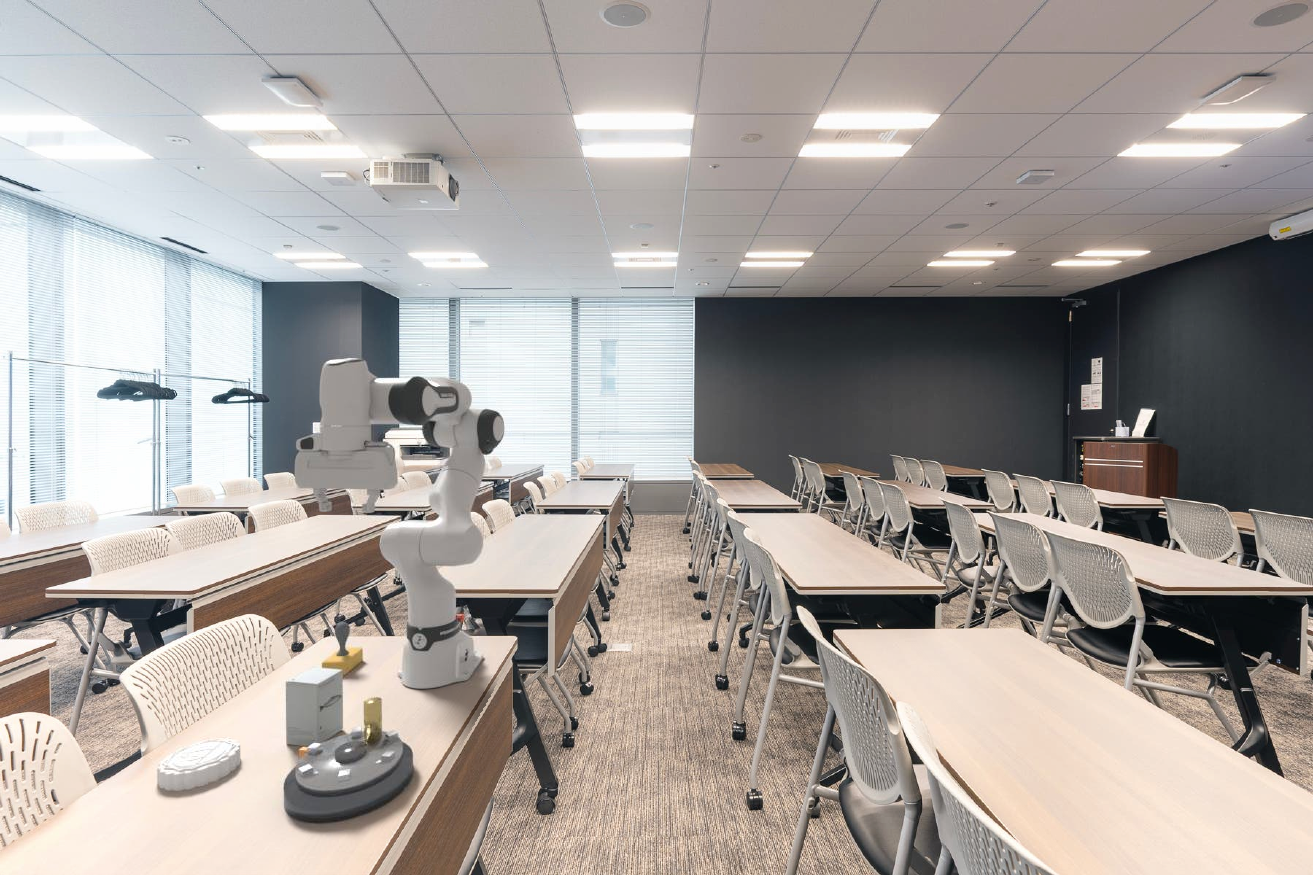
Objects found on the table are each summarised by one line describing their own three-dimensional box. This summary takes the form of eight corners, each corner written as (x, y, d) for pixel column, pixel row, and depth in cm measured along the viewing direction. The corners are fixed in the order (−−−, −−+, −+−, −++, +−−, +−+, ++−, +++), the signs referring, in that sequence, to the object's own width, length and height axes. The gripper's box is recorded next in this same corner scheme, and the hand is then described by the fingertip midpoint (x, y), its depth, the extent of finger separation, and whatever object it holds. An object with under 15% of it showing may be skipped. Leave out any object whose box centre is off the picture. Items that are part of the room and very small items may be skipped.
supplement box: (317, 748, 115) (316, 684, 115) (285, 744, 117) (283, 680, 117) (344, 729, 123) (343, 668, 122) (313, 725, 124) (312, 665, 124)
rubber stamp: (341, 660, 158) (340, 616, 158) (363, 660, 158) (362, 616, 158) (321, 676, 148) (320, 629, 148) (344, 676, 149) (343, 628, 148)
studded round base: (341, 737, 113) (341, 691, 113) (421, 745, 110) (420, 698, 110) (271, 790, 97) (270, 737, 97) (362, 801, 94) (361, 746, 94)
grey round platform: (340, 748, 115) (340, 720, 115) (434, 758, 112) (434, 729, 112) (253, 815, 96) (253, 781, 96) (365, 829, 92) (364, 794, 92)
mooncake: (188, 755, 114) (187, 736, 113) (254, 752, 115) (254, 733, 115) (139, 794, 102) (139, 773, 101) (213, 790, 103) (213, 769, 103)
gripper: (404, 440, 117) (404, 510, 117) (312, 440, 120) (313, 508, 121) (384, 441, 111) (384, 515, 111) (288, 441, 114) (289, 512, 115)
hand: (346, 511), depth 116 cm, fingers open, 8 cm apart
